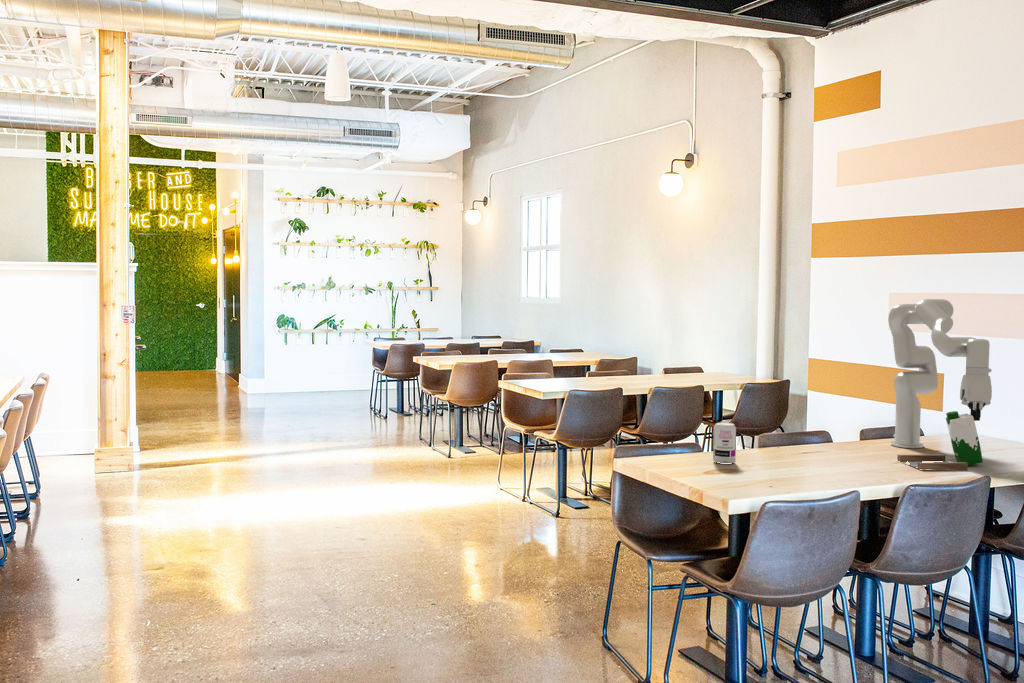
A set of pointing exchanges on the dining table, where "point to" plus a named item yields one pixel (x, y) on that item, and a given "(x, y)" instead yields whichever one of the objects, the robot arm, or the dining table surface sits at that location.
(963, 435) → the soya milk
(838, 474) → the dining table surface
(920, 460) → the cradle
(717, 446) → the supplement can
